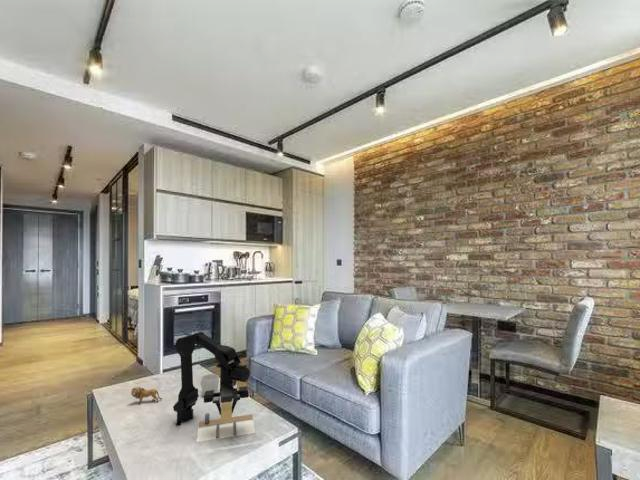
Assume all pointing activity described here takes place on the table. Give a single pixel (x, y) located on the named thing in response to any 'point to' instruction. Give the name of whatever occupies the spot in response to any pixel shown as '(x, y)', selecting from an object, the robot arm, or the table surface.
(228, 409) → the bar
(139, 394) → the lion figurine
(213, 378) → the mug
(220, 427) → the door board
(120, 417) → the table surface
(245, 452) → the table surface
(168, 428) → the table surface
